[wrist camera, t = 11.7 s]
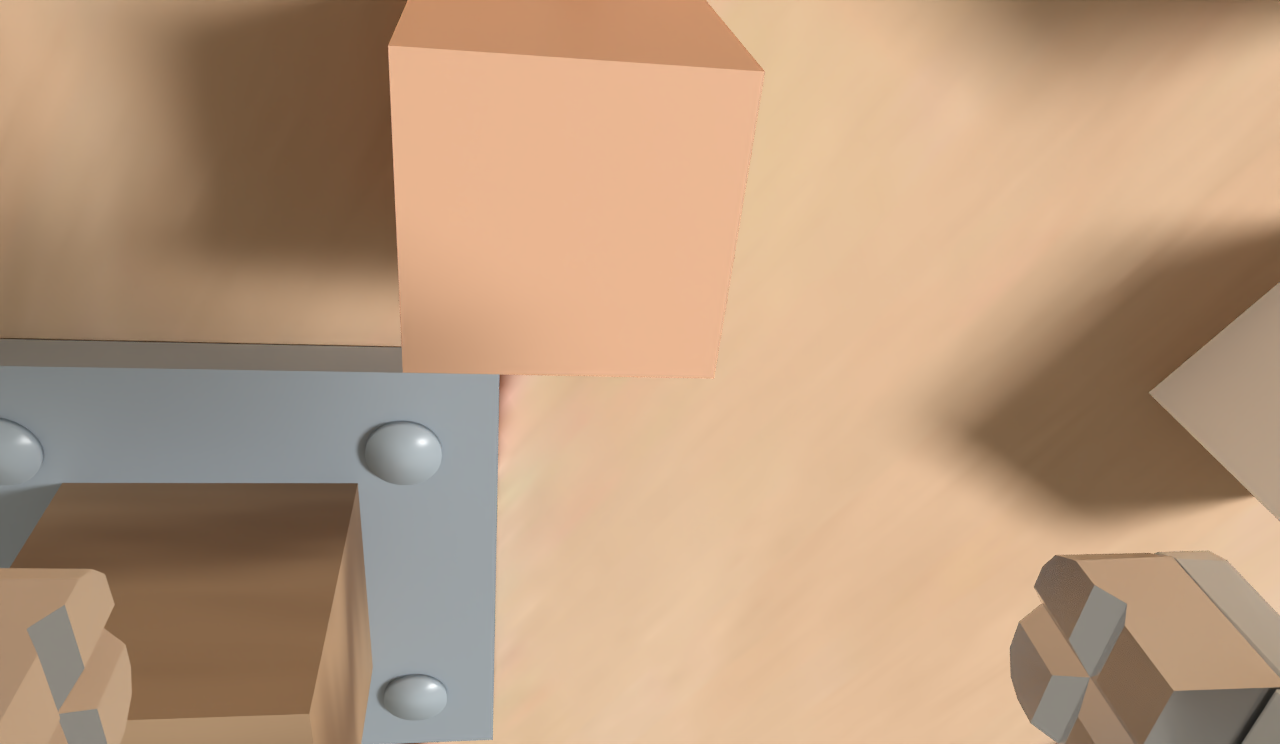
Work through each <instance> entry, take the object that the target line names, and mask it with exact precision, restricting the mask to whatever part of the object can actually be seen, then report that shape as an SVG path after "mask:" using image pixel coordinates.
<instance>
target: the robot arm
mask: <svg viewBox="0 0 1280 744" xmlns="http://www.w3.org/2000/svg"><path fill="white" fill-rule="evenodd" d="M1034 588H1035V590H1036V592H1037V594H1038V597H1039V599H1040V601H1041V603H1042V604H1041V605H1039V606H1038V607H1037V608H1036V609H1034V610H1033V611H1032V612H1031V613H1029V614H1028V615H1027V616H1026V617H1024V618H1023V619H1022V620H1021V621H1019V624H1018V627H1017V629H1016V632H1015V635H1014V638H1013V640H1012V643H1011V646H1010V667H1011V679H1012V682H1013V685H1014V689H1015V692H1016V695H1017V699H1018V701H1019V703H1020V704H1021V706H1022V708H1023V710H1024V712H1025V714H1026V715H1027V717H1028V719H1029V721H1030V723H1031V724H1033V725H1034V726H1035V727H1037V728H1038V729H1039V730H1041V731H1042V732H1043V733H1045V734H1046V735H1048V736H1049V737H1050V738H1052V739H1053V740H1054V741H1056V742H1057V743H1058V744H1280V616H1279V614H1278V613H1277V612H1276V611H1275V610H1274V609H1273V608H1272V607H1271V606H1270V605H1269V604H1268V603H1267V602H1266V601H1265V600H1264V599H1263V598H1262V597H1261V596H1260V594H1259V593H1258V592H1257V591H1256V590H1255V589H1254V588H1253V587H1252V586H1251V585H1250V584H1249V583H1248V582H1247V581H1246V580H1245V579H1244V578H1243V577H1242V576H1241V574H1240V573H1239V572H1238V571H1237V570H1236V569H1235V568H1234V567H1233V566H1232V565H1231V564H1230V563H1229V562H1228V561H1227V560H1225V559H1223V558H1222V557H1220V556H1218V555H1216V554H1214V553H1212V552H1210V551H1180V552H1157V553H1154V554H1152V553H1123V554H1080V555H1055V556H1054V557H1053V558H1052V559H1051V560H1050V561H1048V562H1047V563H1046V564H1045V565H1044V566H1043V567H1042V569H1041V572H1040V574H1039V576H1038V578H1037V581H1036V583H1035V585H1034ZM114 605H115V604H114V601H113V597H112V594H111V591H110V588H109V585H108V582H107V579H106V576H105V574H103V573H101V572H98V571H96V570H93V569H41V568H0V744H120V743H121V740H122V738H123V735H124V732H125V730H126V724H127V718H128V713H129V707H130V701H131V696H132V682H131V665H130V661H129V657H128V653H127V649H126V645H125V644H124V643H123V642H122V641H120V640H119V639H118V638H117V637H115V636H114V635H113V634H111V633H110V632H109V631H107V630H106V629H105V628H104V626H105V624H106V622H107V620H108V618H109V616H110V614H111V611H112V609H113V607H114Z"/></svg>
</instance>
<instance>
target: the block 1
mask: <svg viewBox="0 0 1280 744" xmlns="http://www.w3.org/2000/svg"><path fill="white" fill-rule="evenodd" d="M10 568H41V569H93V570H96V571H98V572H101V573H103V574H105V576H106V579H107V582H108V585H109V588H110V591H111V594H112V597H113V601H114V604H115V605H114V607H113V609H112V611H111V614H110V616H109V618H108V620H107V622H106V624H105V626H104V628H105V629H106V630H107V631H109V632H110V633H111V634H113V635H114V636H115V637H117V638H118V639H119V640H120V641H122V642H123V643H124V644H125V645H126V649H127V653H128V657H129V661H130V665H131V682H132V696H131V701H130V707H129V713H128V718H127V724H126V730H125V732H124V735H123V738H122V740H121V743H120V744H361V742H362V736H363V729H364V723H365V716H366V709H367V703H368V696H369V689H370V683H371V676H372V670H373V663H372V651H371V639H370V626H369V614H368V602H367V590H366V577H365V565H364V553H363V540H362V528H361V516H360V504H359V491H358V483H62V484H61V486H60V488H59V489H58V491H57V492H56V494H55V496H54V497H53V499H52V500H51V502H50V504H49V505H48V507H47V508H46V510H45V512H44V513H43V515H42V517H41V518H40V520H39V521H38V523H37V525H36V526H35V528H34V529H33V531H32V533H31V534H30V536H29V537H28V539H27V541H26V542H25V544H24V545H23V547H22V549H21V550H20V552H19V554H18V555H17V557H16V558H15V560H14V562H13V563H12V565H11V566H10Z"/></svg>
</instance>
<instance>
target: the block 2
mask: <svg viewBox="0 0 1280 744" xmlns="http://www.w3.org/2000/svg"><path fill="white" fill-rule="evenodd" d="M388 56H389V78H390V101H391V123H392V145H393V167H394V190H395V212H396V234H397V256H398V279H399V301H400V323H401V345H402V368H403V373H449V374H503V375H557V376H611V377H664V378H714V375H715V369H716V363H717V357H718V351H719V345H720V339H721V333H722V327H723V321H724V315H725V309H726V303H727V297H728V291H729V285H730V279H731V273H732V267H733V261H734V255H735V249H736V243H737V237H738V231H739V225H740V219H741V213H742V207H743V201H744V195H745V189H746V183H747V177H748V171H749V165H750V159H751V152H752V146H753V140H754V134H755V128H756V122H757V116H758V110H759V104H760V98H761V92H762V86H763V80H764V74H765V71H764V70H763V69H762V68H761V66H760V65H759V64H758V63H757V61H756V60H755V59H754V58H753V57H752V55H751V54H750V53H749V52H748V51H747V49H746V48H745V47H744V46H743V45H742V43H741V42H740V41H739V40H738V39H737V37H736V36H735V35H734V34H733V33H732V31H731V30H730V29H729V28H728V27H727V25H726V24H725V23H724V22H723V20H722V19H721V18H720V17H719V16H718V14H717V13H716V12H715V11H714V10H713V8H712V7H711V6H710V5H709V4H708V2H707V1H706V0H407V3H406V5H405V7H404V10H403V12H402V14H401V17H400V19H399V21H398V24H397V26H396V28H395V31H394V33H393V35H392V37H391V40H390V42H389V44H388Z"/></svg>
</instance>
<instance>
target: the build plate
mask: <svg viewBox="0 0 1280 744" xmlns="http://www.w3.org/2000/svg"><path fill="white" fill-rule="evenodd" d="M498 423H499V374H449V373H403V368H402V347H360V346H313V345H265V344H218V343H170V342H123V341H75V340H28V339H0V568H10V566H11V565H12V563H13V562H14V560H15V558H16V557H17V555H18V554H19V552H20V550H21V549H22V547H23V545H24V544H25V542H26V541H27V539H28V537H29V536H30V534H31V533H32V531H33V529H34V528H35V526H36V525H37V523H38V521H39V520H40V518H41V517H42V515H43V513H44V512H45V510H46V508H47V507H48V505H49V504H50V502H51V500H52V499H53V497H54V496H55V494H56V492H57V491H58V489H59V488H60V486H61V484H62V483H358V491H359V504H360V516H361V528H362V540H363V553H364V565H365V577H366V590H367V602H368V614H369V626H370V639H371V651H372V663H373V670H372V676H371V683H370V689H369V696H368V703H367V709H366V716H365V723H364V729H363V736H362V742H361V744H397V743H422V742H446V741H471V740H493V691H494V637H495V584H496V530H497V477H498Z"/></svg>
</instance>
